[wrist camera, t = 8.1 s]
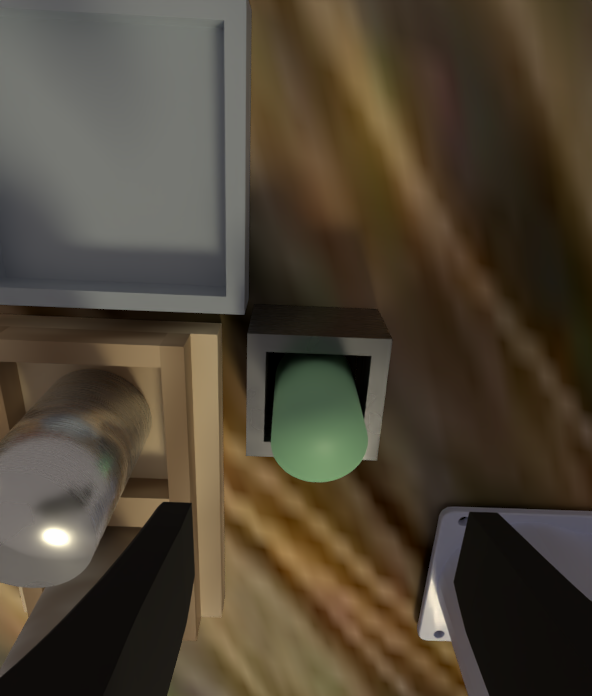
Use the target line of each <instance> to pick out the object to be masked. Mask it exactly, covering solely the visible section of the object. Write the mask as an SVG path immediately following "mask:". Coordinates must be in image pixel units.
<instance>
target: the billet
mask: <svg viewBox="0 0 592 696" xmlns="http://www.w3.org/2000/svg"><path fill="white" fill-rule="evenodd" d="M151 426H152V417H151V412H150V409H149V406H148V404H147V402H146V400H145V398H144V397H143V395H142V394H141V393H140V392H139V390H138V389H137V388H136V387H135V386H133V385H132V384H131V383H130V382H128V381H127V380H125V379H124V378H122V377H120V376H118V375H116V374H113V373H110V372H107V371H102V370H95V369H84V370H77V371H74V372H71V373H68V374H66V375H64V376H63V377H61V378H59V379H58V380H57V381H56V382H55V383H54V384H53V385H52V386H51V387H50V388H49V389H48V390H47V391H46V392H45V394H44V395H43V396H42V397H41V398H40V399H39V400H38V401H37V402H36V403H35V404H34V405H33V406H32V408H31V409H30V410H29V411H28V412H27V413H26V414H25V415H24V416H23V417H22V418H21V419H20V420H19V422H18V423H17V424H16V425H15V426H14V427H13V428H12V429H11V430H10V431H9V432H8V433H7V435H6V436H5V437H4V438H3V439H2V440H1V441H0V582H2V583H5V584H9V585H13V586H18V587H26V588H44V587H51V586H55V585H60V584H62V583H65V582H68V581H70V580H71V579H73V578H75V577H76V576H78V575H79V574H81V573H82V572H83V571H84V570H85V569H86V567H87V566H88V565H89V563H90V561H91V559H92V557H93V555H94V553H95V551H96V549H97V547H98V544H99V542H100V540H101V538H102V536H103V534H104V532H105V529H106V527H107V525H108V523H109V521H110V519H111V516H112V514H113V512H114V510H115V508H116V506H117V504H118V501H119V499H120V497H121V495H122V493H123V491H124V488H125V486H126V484H127V482H128V480H129V478H130V475H131V473H132V471H133V469H134V467H135V465H136V463H137V460H138V458H139V456H140V454H141V452H142V450H143V447H144V445H145V443H146V441H147V439H148V437H149V434H150V431H151Z"/></svg>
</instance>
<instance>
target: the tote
mask: <svg viewBox="0 0 592 696" xmlns="http://www.w3.org/2000/svg"><path fill="white" fill-rule="evenodd" d="M251 18H252V10H251V7H250V4H249V1H248V0H0V305H20V306H45V307H69V308H93V309H117V310H141V311H165V312H189V313H213V314H237V315H244V314H245V311H246V307H247V303H248V299H249V218H250V118H251Z"/></svg>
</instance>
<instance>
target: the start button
mask: <svg viewBox="0 0 592 696" xmlns="http://www.w3.org/2000/svg"><path fill="white" fill-rule="evenodd" d="M367 445H368V435H367V430H366V426H365V422H364V418H363V414H362V410H361V406H360V402H359V398H358V394H357V390H356V386H355V382H354V378H353V374H352V370H351V367H350V364H349V362H348V360H347V359H346V357H345V356H344V355H335V354H310V353H286V354H285V355H284V356H283V358H282V359H281V360H280V362H279V364H278V366H277V370H276V375H275V389H274V403H273V417H272V431H271V449H272V453H273V455H274V458H275V459H276V461H277V463H278V464H279V465H280V466H281V467H282V468H283V469H284V470H285V471H286V472H287V473H289V474H290V475H292V476H294V477H296V478H298V479H301V480H304V481H309V482H327V481H332V480H336V479H339V478H341V477H343V476H345V475H347V474H348V473H350V472H351V471H352V470H354V469H355V468H356V467H357V466H358V465H359V463H360V462H361V461H362V459H363V457H364V455H365V453H366V450H367Z"/></svg>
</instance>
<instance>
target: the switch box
mask: <svg viewBox="0 0 592 696" xmlns="http://www.w3.org/2000/svg"><path fill="white" fill-rule="evenodd" d="M391 347H392V337H391V335H390V333H389V331H388V329H387V327H386V325H385V323H384V321H383V319H382V317H381V315H380V313H379V311H378V309H357V308H333V307H309V306H285V305H261V304H254V307H253V311H252V315H251V320H250V324H249V328H248V333H247V424H246V456H266V457H274V455H273V453H272V449H271V431H272V417H273V403H274V400H268V369H269V352H284V353H310V354H335V355H357V360H356V370H355V380H354V382H355V386H356V390H357V394H358V398H359V402H360V406H361V410H362V414H363V418H364V422H365V426H366V430H367V435H368V445H367V450H366V453H365V455H364V457H363V459H362V460H377V455H378V447H379V440H380V432H381V424H382V417H383V409H384V401H385V393H386V386H387V378H388V370H389V362H390V355H391Z"/></svg>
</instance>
